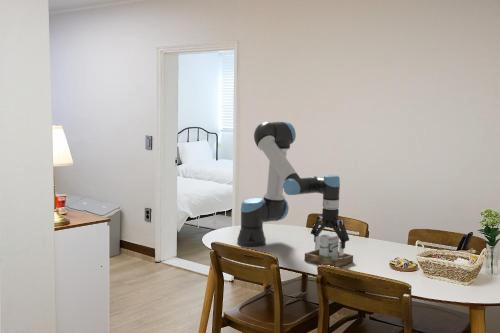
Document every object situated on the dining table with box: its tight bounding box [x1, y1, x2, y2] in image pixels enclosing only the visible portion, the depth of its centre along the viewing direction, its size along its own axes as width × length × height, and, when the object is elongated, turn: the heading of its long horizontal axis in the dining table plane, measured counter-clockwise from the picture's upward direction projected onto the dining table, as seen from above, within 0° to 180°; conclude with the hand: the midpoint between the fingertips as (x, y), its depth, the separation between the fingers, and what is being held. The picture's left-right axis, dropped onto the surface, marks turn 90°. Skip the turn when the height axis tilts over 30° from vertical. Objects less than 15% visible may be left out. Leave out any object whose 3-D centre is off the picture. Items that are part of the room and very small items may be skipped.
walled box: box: [304, 249, 354, 268], centre depth 250 cm, size 18×14×4 cm
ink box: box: [319, 233, 340, 260], centre depth 249 cm, size 9×5×12 cm, turn 130°
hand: (328, 252), depth 249 cm, fingers open, 13 cm apart
